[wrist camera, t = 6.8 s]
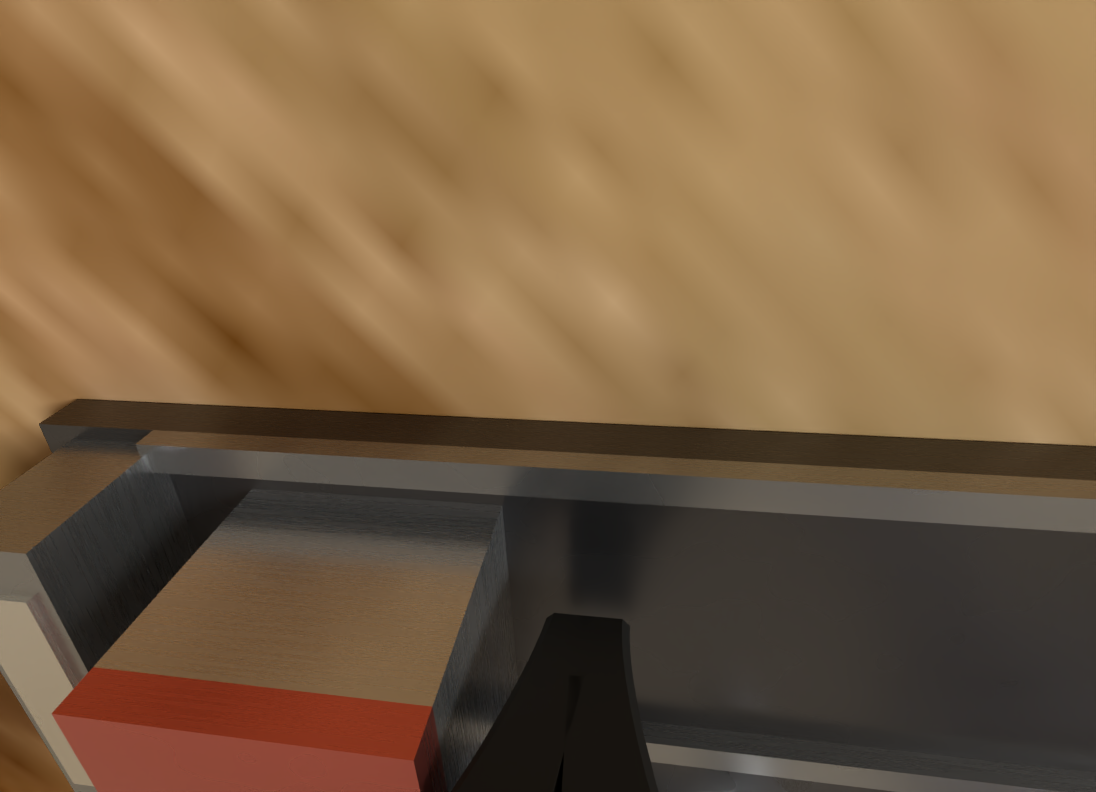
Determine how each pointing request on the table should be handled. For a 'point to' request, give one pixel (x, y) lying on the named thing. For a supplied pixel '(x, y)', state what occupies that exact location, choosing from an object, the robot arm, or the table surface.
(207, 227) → the table surface
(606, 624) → the robot arm
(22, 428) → the table surface
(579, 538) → the base plate
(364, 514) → the red-ended rectangular metal block
